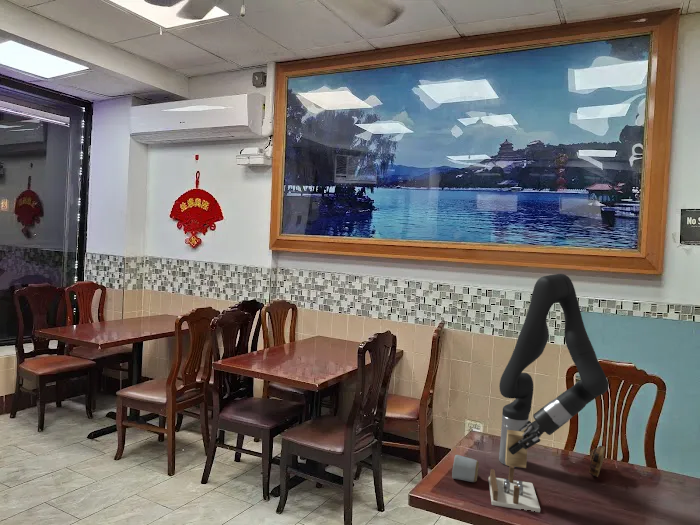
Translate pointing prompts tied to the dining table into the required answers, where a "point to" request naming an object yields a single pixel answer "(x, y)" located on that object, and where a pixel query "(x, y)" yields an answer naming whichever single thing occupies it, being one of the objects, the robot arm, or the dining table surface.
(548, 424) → the robot arm
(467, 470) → the ceramic mug
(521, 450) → the oak block
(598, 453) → the wooden carving
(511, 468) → the walnut frame
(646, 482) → the dining table surface
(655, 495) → the dining table surface
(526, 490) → the peg stand
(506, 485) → the pegs
